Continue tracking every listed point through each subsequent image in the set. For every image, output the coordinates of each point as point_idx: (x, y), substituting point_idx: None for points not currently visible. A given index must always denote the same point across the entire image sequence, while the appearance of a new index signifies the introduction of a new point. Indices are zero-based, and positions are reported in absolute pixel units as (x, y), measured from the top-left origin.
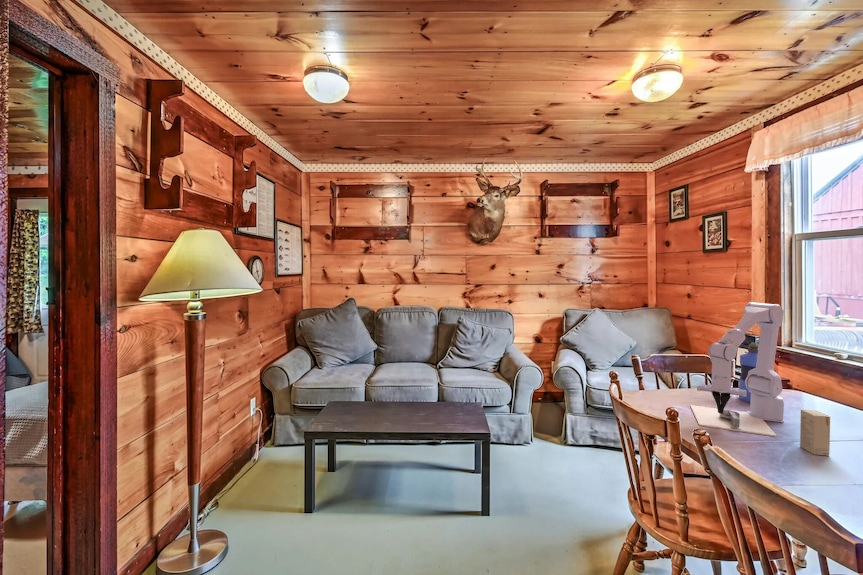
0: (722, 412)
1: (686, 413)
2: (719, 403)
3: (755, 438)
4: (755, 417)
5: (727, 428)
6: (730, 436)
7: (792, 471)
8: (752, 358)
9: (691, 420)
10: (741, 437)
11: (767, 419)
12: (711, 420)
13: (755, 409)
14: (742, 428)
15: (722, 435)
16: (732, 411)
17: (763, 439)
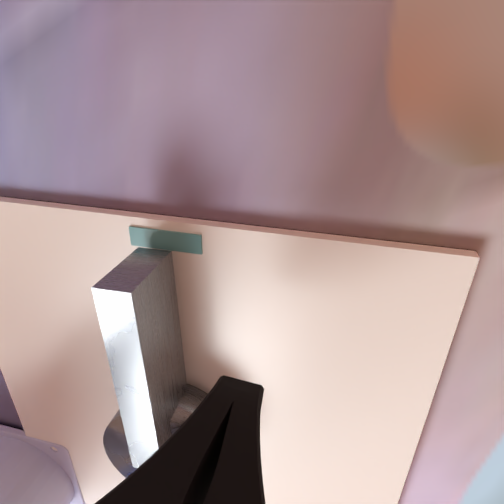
0: (220, 384)
1: (460, 486)
2: (220, 497)
3: (51, 83)
4: (52, 449)
5: (230, 228)
6: (244, 30)
7: None
8: None
9: (493, 362)
10: (151, 52)
11: (4, 430)
12: (316, 370)
13: (20, 502)
14: (122, 260)
15: (321, 22)
16: (134, 454)
17: (2, 87)
